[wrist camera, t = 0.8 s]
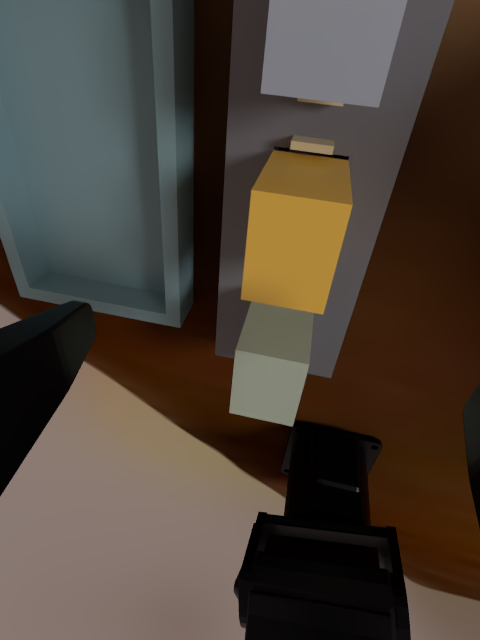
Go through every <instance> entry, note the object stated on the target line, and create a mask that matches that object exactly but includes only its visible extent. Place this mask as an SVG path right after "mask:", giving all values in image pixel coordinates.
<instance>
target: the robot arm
mask: <svg viewBox="0 0 480 640" xmlns="http://www.w3.org/2000/svg"><path fill="white" fill-rule="evenodd" d="M95 336H96V325H95V320H94V315H93V310H92V307H91V305H90V304H89V303H87V302H82V301H77V300H72V301H69V302H66V303H64V304H61V305H59V306H56V307H54V308H51V309H49V310H46V311H44V312H41V313H38V314H36V315H33V316H31V317H28V318H26V319H23V320H21V321H18V322H16V323H13V324H11V325H8V326H6V327H3V328H0V496H1V494H2V493H3V491H4V490H5V488H6V487H7V485H8V484H9V482H10V481H11V479H12V477H13V476H14V474H15V473H16V471H17V470H18V468H19V466H20V465H21V464H22V462H23V460H24V459H25V457H26V456H27V454H28V453H29V451H30V450H31V448H32V447H33V445H34V443H35V442H36V440H37V439H38V437H39V436H40V434H41V433H42V431H43V429H44V428H45V426H46V425H47V423H48V422H49V420H50V419H51V417H52V415H53V414H54V412H55V411H56V409H57V408H58V406H59V405H60V403H61V402H62V400H63V399H64V397H65V395H66V394H67V392H68V391H69V389H70V387H71V385H72V383H73V381H74V379H75V377H76V375H77V373H78V371H79V369H80V367H81V365H82V363H83V361H84V359H85V357H86V355H87V353H88V351H89V349H90V347H91V345H92V343H93V341H94V339H95ZM463 423H464V433H465V444H466V454H467V464H468V473H469V481H470V486H471V491H472V496H473V500H474V505H475V509H476V514H477V518H478V523H479V528H480V384H479V385H478V386H477V388H476V389H475V391H474V392H473V394H472V395H471V397H470V398H469V400H468V401H467V403H466V404H465V406H464V409H463ZM381 449H382V443H381V441H380V440H378V439H375V438H371V437H366V436H361V435H357V434H352V433H348V432H343V431H338V430H334V429H329V428H325V427H320V426H315V425H311V424H306V423H302V422H295V423H294V424H293V427H292V428H291V431H290V435H289V439H288V443H287V446H286V450H285V454H284V458H283V462H282V465H281V472H282V473H284V474H286V475H288V483H287V492H286V501H285V511H284V516H279V515H270V514H267V513H266V512H259V513H258V516H257V520H256V523H254V525H253V528H252V532H251V535H250V539H249V542H248V546H247V550H246V553H245V557H244V560H243V564H242V567H241V569H240V571H239V574H238V576H237V578H236V581H235V584H234V593H235V595H236V596H237V598H238V600H239V619H240V625H241V627H242V628H245V629H246V632H245V640H411V637H410V622H409V611H408V603H407V595H406V588H405V582H404V576H403V570H402V563H401V557H400V551H399V545H398V539H397V533H396V527H390V526H386V528H385V527H376V526H371V521H370V506H369V491H368V476H367V475H368V474H369V472H370V470H371V468H372V466H373V464H374V462H375V461H376V459H377V457H378V455H379V453H380V451H381Z"/></svg>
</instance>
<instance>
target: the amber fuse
mask: <svg viewBox="0 0 480 640" xmlns="http://www.w3.org/2000/svg"><path fill="white" fill-rule="evenodd" d="M352 206H353V202H352V191H351V179H350V168H349V160H344V159H336V158H334V155H328V154H321V153H314V152H306V151H299V150H292V149H290V150H289V152H285V151H278V150H273V152H272V154H271V155H270V157H269V159H268V161H267V163H266V164H265V166H264V168H263V170H262V172H261V174H260V175H259V177H258V179H257V181H256V183H255V184H254V186H253V188H252V190H251V199H250V210H249V220H248V230H247V240H246V250H245V261H244V271H243V281H242V291H241V300H246V301H252V302H257V303H263V304H268V305H274V306H279V307H284V308H290V309H295V310H301V311H306V312H312V313H317V314H324V310H325V306H326V303H327V299H328V295H329V291H330V288H331V284H332V280H333V277H334V273H335V269H336V265H337V262H338V258H339V254H340V251H341V247H342V243H343V239H344V236H345V232H346V228H347V225H348V221H349V217H350V214H351V210H352Z"/></svg>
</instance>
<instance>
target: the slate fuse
mask: <svg viewBox="0 0 480 640" xmlns="http://www.w3.org/2000/svg"><path fill="white" fill-rule="evenodd" d="M407 1H408V0H270V1H269V11H268V22H267V32H266V42H265V53H264V63H263V73H262V83H261V94H270V95H278V96H286V97H294V98H303V99H311V100H319V101H327V102H336V103H344V104H352V105H361V106H369V107H377V108H379V105H380V101H381V97H382V93H383V90H384V86H385V82H386V79H387V75H388V71H389V67H390V64H391V60H392V56H393V53H394V49H395V45H396V41H397V38H398V34H399V30H400V27H401V23H402V19H403V15H404V12H405V8H406V4H407Z"/></svg>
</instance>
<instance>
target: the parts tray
mask: <svg viewBox="0 0 480 640" xmlns="http://www.w3.org/2000/svg"><path fill="white" fill-rule="evenodd" d="M0 238H1V241H2V244H3V247H4V250H5V253H6V256H7V259H8V261H9V264H10V267H11V270H12V273H13V276H14V279H15V282H16V285H17V288H18V291H19V294H20V297H25V298H30V299H35V300H40V301H45V302H50V303H55V304H60V305H61V304H64V303H66V302H69V301H72V300H77V301H82V302H87V303H89V304H90V305H91V307H92V310H93V311H96V312H101V313H106V314H111V315H116V316H121V317H126V318H132V319H137V320H142V321H147V322H152V323H157V324H162V325H167V326H172V327H177V328H180V327H181V326H182V324H183V322H184V320H185V318H186V316H187V314H188V313H189V311H190V309H191V307H192V305H193V248H194V0H0Z"/></svg>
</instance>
